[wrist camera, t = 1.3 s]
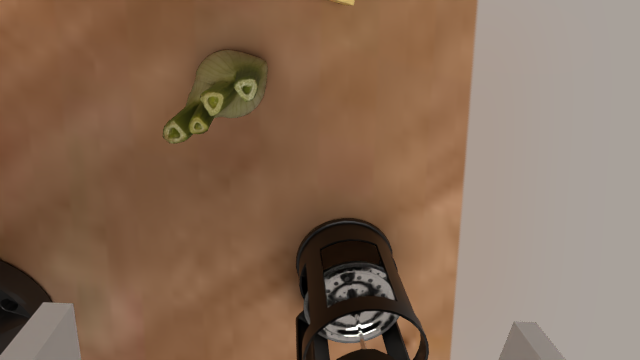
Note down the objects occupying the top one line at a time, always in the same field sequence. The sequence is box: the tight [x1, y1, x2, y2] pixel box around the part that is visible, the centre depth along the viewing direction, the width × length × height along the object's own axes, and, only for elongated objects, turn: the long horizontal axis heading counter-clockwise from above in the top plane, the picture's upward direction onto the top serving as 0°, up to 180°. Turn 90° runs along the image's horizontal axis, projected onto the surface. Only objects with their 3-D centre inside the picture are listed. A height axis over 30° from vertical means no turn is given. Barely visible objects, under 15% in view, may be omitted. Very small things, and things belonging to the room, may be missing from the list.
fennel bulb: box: [163, 50, 268, 144], centre depth 26 cm, size 6×5×12 cm
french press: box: [296, 218, 429, 360], centre depth 29 cm, size 12×9×23 cm
